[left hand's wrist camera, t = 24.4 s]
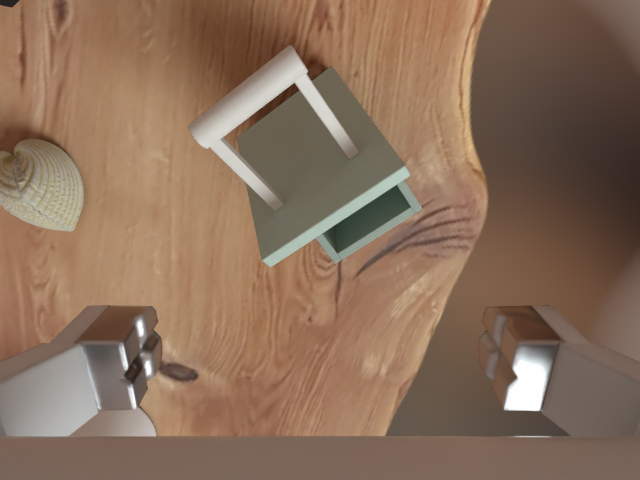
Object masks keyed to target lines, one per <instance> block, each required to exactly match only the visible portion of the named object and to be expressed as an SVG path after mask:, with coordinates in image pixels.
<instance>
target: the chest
mask: <svg viewBox="0 0 640 480" xmlns="http://www.w3.org/2000/svg"><path fill="white" fill-rule="evenodd" d="M421 209H422V207H421V205H420V204H419V202H418V201H417V199H416V197H415V196H414V194H413V193H412V191H411V190H410V188H409V186H408V185H407V183H406V182H405V180H403V181H402V182H400V183H399V184H397V185H395V186H394V187H392V188H391V189H389V190H388V191H386V192H385V193H383V194H382V195H380V196H379V197H377V198H376V199H374V200H373V201H371V202H370V203H368V204H366V205H365V206H363V207H362V208H360V209H359V210H357V211H356V212H354V213H353V214H351V215H350V216H348V217H347V218H345V219H344V220H342V221H340V222H339V223H337V224H336V225H334V226H333V227H331V228H330V229H328V230H327V231H325V232H324V233H322V234H321V235H319V236H318V237H316V240H317V241H318V242H319V243H320V245H321V246H322V247H323V249H324V250H325V251H326V253H327V254H328V255H329V257H330V258H331V259H332V261H333V262H334V263H337V262H339V261H340V260H341V259H344V258H345V257H347V256H348V255H350V254H352V253H353V252H355V251H356V250H358V249H360V248H361V247H363V246H364V245H366V244H367V243H369V242H371V241H372V240H374V239H375V238H377V237H379V236H380V235H382V234H383V233H385V232H387V231H388V230H390V229H391V228H393V227H394V226H396V225H398V224H399V223H401V222H402V221H404V220H406V219H407V218H409V217H410V216H412V215H414V214H415V213H417V212H418V211H420V210H421Z"/></svg>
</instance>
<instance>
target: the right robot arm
mask: <svg viewBox="0 0 640 480" xmlns="http://www.w3.org/2000/svg"><path fill="white" fill-rule="evenodd" d="M18 1H19V0H0V5H3V6H8V7H13V6H14V5H15V4H16V3H17V2H18Z"/></svg>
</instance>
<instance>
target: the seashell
mask: <svg viewBox="0 0 640 480" xmlns="http://www.w3.org/2000/svg"><path fill="white" fill-rule="evenodd" d="M83 195H84V189H83V183H82V179H81V176H80V173H79V171H78V169H77V167H76V165H75V164H74V162H73V160H72V159H71V158H70V157H69V156H68V155H67V154H66V153H65V152H64V151H63V150H62V149H60V148H59V147H57V146H56V145H54V144H52V143H50V142H47V141H44V140H39V139H26V140H23V141H20V142H19V143H17V144H16V146H15V147H14V150H13V154H11V153H9V152H7V151H0V205H1V206H2V207H4V208H5V209H6V210H7V211H8V212H10V213H11V214H13V215H14V216H16V217H18V218H20V219H21V220H23V221H26V222H28V223H30V224H33V225H36V226H39V227H43V228H47V229H52V230H62V231H73V230H74V229H75V226H76V224H77V221H78V220H79V215H80V212H81V210H82V206H83Z"/></svg>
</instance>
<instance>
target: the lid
mask: <svg viewBox="0 0 640 480" xmlns="http://www.w3.org/2000/svg"><path fill="white" fill-rule="evenodd" d="M307 72H308V70H307V68H306V66H305V65H304V63H303V62H302V60H301V59H300V57H299V56H298V54H297V53H296V51H295V50H294V48H293V47H292V46H291V45H289V46H288V47H286V48H285V49H284V50H282V51H281V52H280V53H279V54H277V55H276V56H275V57H274V58H272V59H271V60H270V61H269V62H267V63H266V64H265V65H264V66H262V67H261V68H260V69H258V70H257V71H256V72H255V73H253V74H252V75H251V76H250V77H248V78H247V79H246V80H245V81H243V82H242V83H241V84H239V85H238V86H237V87H236V88H234V89H233V90H232V91H231V92H229V93H228V94H227V95H226V96H224V97H223V98H222V99H220V100H219V101H218V102H217V103H215V104H214V105H213V106H212V107H210V108H209V109H208V110H207V111H205V112H204V113H203V114H202V115H200V116H199V117H198V118H196V119H195V120H194V121H193V122H191V123H190V124H189V126H188V129H189V131H190V133H191V135H192V136H193V138H194V139H195V140H196V141H197V142H198V143H199V144H200V145H201V146H202V147H204V148H206V149H207V148H211V149H212V150H213V151H214V152H215V153H216V154H217V155H218V156H219V157H220V158H221V159H222V160H223V161H224V162H225V163H226V164H227V165H228V166H229V167H230V168H231V169H232V170H233V171H235V172H236V173H237V174H238V175H239V176H240V177H241V178H242V179H243V180H244V181H245V182H246V185H247V190H248V195H249V200H250V205H251V210H252V215H253V220H254V225H255V230H256V234H257V239H258V244H259V249H260V254H261V259H262V261H263V262H264V263H266V264H267V265H268V266H269V267H272V266H273V265H275V264H276V263H278V262H279V261H281V260H282V259H284V258H285V257H287V256H289V255H290V254H292V253H293V252H295V251H296V250H298V249H299V248H301V247H302V246H304V245H305V244H307V243H308V242H310V241H311V240H313V239H315V238H316V237H318V236H319V235H321V234H322V233H324V232H325V231H327V230H328V229H330V228H331V227H333V226H334V225H336V224H337V223H339V222H340V221H342V220H344V219H345V218H347V217H348V216H350V215H351V214H353V213H354V212H356V211H357V210H359V209H360V208H362V207H363V206H365V205H366V204H368V203H370V202H371V201H373V200H374V199H376V198H377V197H379V196H380V195H382V194H383V193H385V192H386V191H388V190H389V189H391V188H392V187H394V186H395V185H397V184H399V183H400V182H402V181H403V180H405V179H406V178H408V177H409V176H410V172H409V171H408V169H407V167H406V166H405V164H404V163H403V161H402V160H401V159H400V157H399V156H398V155H397V153H396V152H395V151H394V149H393V148H392V147H391V145H390V144H389V142H388V141H387V140H386V138H385V137H384V136H383V134H382V133H381V132H380V130H379V129H378V128H377V126H376V125H375V123H374V122H373V121H372V119H371V118H370V117H369V115H368V114H367V113H366V111H365V110H364V109H363V107H362V106H361V104H360V103H359V102H358V100H357V99H356V98H355V96H354V95H353V94H352V92H351V91H350V90H349V88H348V87H347V85H346V84H345V83H344V81H343V80H342V79H341V77H340V76H339V75H338V73H337V72H336V71H335V69H334V68H333V67H332V66H331V67H330V68H328V69H327V70H326V71H324V72H323V73H322V74H320V75H319V76H318V77H316V78H315V79H314V80H312V81H311V79H310V78H309V77H308V75H307V74H306V73H307ZM293 83H295V84H296V86H297V87H298V89H299V91H298V92H297V93H295V94H294V95H293V96H291V97H290V98H289V99H287V100H286V101H285V102H283V103H282V104H281V105H279V106H278V107H277V108H275V109H274V110H273V111H271V112H270V113H269V114H267V115H266V116H265V117H263V118H262V119H261V120H259V121H258V122H257V123H255V124H254V125H253V126H252V127H250V128H249V129H248V130H246V131H245V132H244V133H242V134H241V135H240V136H238V137H237V141H238V146H239V151H240V154H239V153H238V152H237V151H236V150H235V149H234V148H233V147H232V146H231V145H230V144H229V143H228V142H227V141H226V140H225V139H224V138H223V137H224V136H225V135H227V134H228V133H229V132H230V131H232V130H233V129H234V128H236V127H237V126H238V125H240V124H241V123H242V122H244V121H245V120H246V119H247V118H249V117H250V116H251V115H253V114H254V113H255V112H257V111H258V110H259V109H261V108H262V107H263V106H265V105H266V104H267V103H268V102H270V101H271V100H272V99H274V98H275V97H276V96H278V95H279V94H280V93H282V92H283V91H284V90H285V89H287V88H288V87H289V86H291V85H292V84H293Z"/></svg>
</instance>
